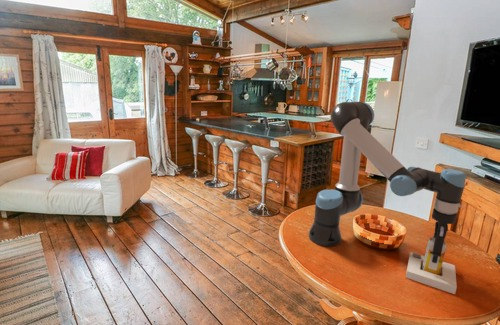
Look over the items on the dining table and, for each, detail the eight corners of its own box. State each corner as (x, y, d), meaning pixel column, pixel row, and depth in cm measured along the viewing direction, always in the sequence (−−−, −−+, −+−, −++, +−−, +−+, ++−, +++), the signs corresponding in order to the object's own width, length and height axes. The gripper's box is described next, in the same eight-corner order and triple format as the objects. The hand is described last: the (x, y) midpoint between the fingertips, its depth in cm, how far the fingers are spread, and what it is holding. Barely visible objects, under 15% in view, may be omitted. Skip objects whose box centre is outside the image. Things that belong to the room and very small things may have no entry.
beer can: (441, 280, 111) (450, 246, 107) (424, 277, 112) (432, 244, 108) (435, 271, 117) (443, 238, 113) (418, 268, 118) (426, 236, 114)
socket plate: (405, 277, 112) (407, 269, 111) (409, 258, 125) (410, 250, 124) (454, 294, 104) (457, 285, 103) (453, 271, 117) (455, 263, 116)
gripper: (459, 223, 97) (444, 281, 103) (456, 204, 113) (443, 254, 120) (433, 217, 100) (420, 273, 107) (434, 199, 117) (422, 248, 123)
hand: (432, 263), depth 113 cm, fingers open, 8 cm apart
